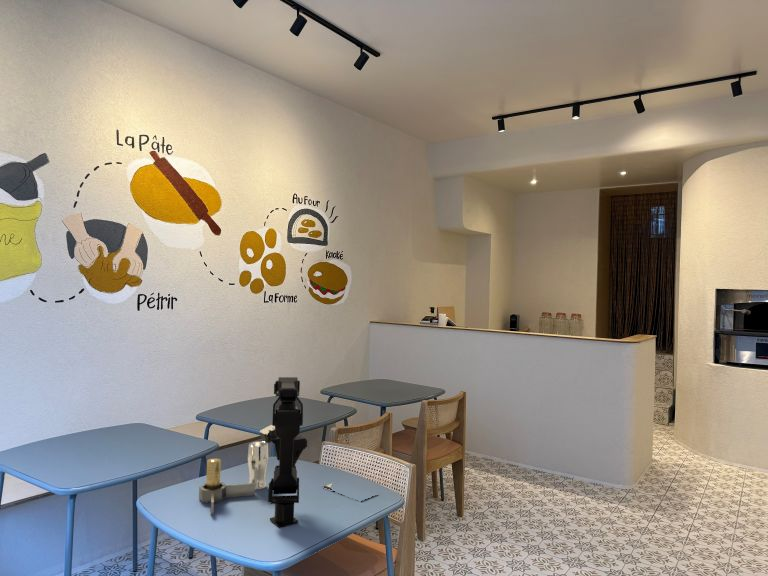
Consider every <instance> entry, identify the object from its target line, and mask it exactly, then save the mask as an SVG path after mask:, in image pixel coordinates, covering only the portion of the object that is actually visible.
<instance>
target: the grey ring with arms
mask: <svg viewBox="0 0 768 576" xmlns="http://www.w3.org/2000/svg"><path fill="white" fill-rule="evenodd" d="M198 489H199V490H198V500H199V499H200V500H201V501H200V500H199V501H200V502H201V503H202V502H205V503H204V504H210V516H214V511H215V510H214V508H215V504H216V503H215V502H217V503H221V502H223V501H224V500H225V499H229V498H228V497H230V498H239V497H240V498H241V497H252V496H256V490H255V483H249V482H248V483H247V482H246V483H235V484H233V483H232V484H225V482H221V481H220V488H219V489H214V490H209V489H206V482H205V483H202V485H200V486H199V487H198ZM220 501H221V502H220Z"/></svg>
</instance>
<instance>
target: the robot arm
mask: <svg viewBox="0 0 768 576" xmlns="http://www.w3.org/2000/svg"><path fill="white" fill-rule="evenodd" d="M277 379H278V380H276V381H275V383H274V384H273V394H274V395H275V397H278V398H276V400H275V402H274V403H273V405H272V424H270V425H268V426H266V427H264V428H263V429H261V430H259V433H260V437H261V440H262V442H266V443H268V444H269V443H271V444H272V445H273V449H274V451H275V453H274V454H275V457H276V460H277V461H279V462H278V465H276V466H275V467H274V471H273V477H272V478H270V479H271V480H270V482H269V483H268V492H267V493H268V494H267V495H268V496H267V497H268V501H267V502H268V503H269V504H270V505H274V516H273V517H270V518H269V520H270V522H272V523H273V524H274V525H275V526H277V527H278V528H282V527H287V526H291V525H293V524H297V523H299V520H298V519H297V518H295V515H294V514H295V504H299V503H300V477H298V470H297V466H296V464H297V462H298V460H299V458H300V456H301V454H302V453H303V451H304V450H306V448H308V446H309V445H308V444H309V441H308V440H307V438H305V437H303V436H300V433H301V426H302V427H303V423H304V403H303V402H302V401H301V400H300V398H299V396H300V391H301V389H300V388H301V387H300V386H301V385H300V384H301V383H300V382H301V381H300V380H299V379H298V377H296V376H295V377H294V376H293V377H291V376H287V377H285V376H283V377H282V376H279V377H278V378H277Z"/></svg>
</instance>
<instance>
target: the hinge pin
mask: <svg viewBox="0 0 768 576" xmlns="http://www.w3.org/2000/svg"><path fill="white" fill-rule="evenodd" d="M221 472H222V459H221V458H209V459H207V460H206V480H205V481H206V482H205V483H206V489H209V490H214V489H219V488H220V482H221Z"/></svg>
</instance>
